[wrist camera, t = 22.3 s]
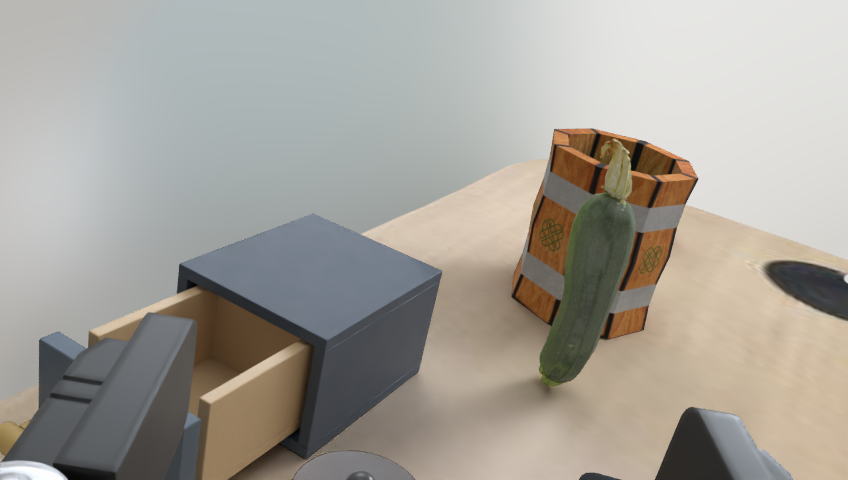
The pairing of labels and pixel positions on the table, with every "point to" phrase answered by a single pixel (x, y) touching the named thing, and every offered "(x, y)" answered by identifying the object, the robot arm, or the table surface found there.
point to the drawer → (209, 383)
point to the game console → (596, 477)
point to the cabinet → (329, 312)
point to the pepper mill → (351, 467)
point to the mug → (560, 202)
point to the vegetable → (591, 271)
